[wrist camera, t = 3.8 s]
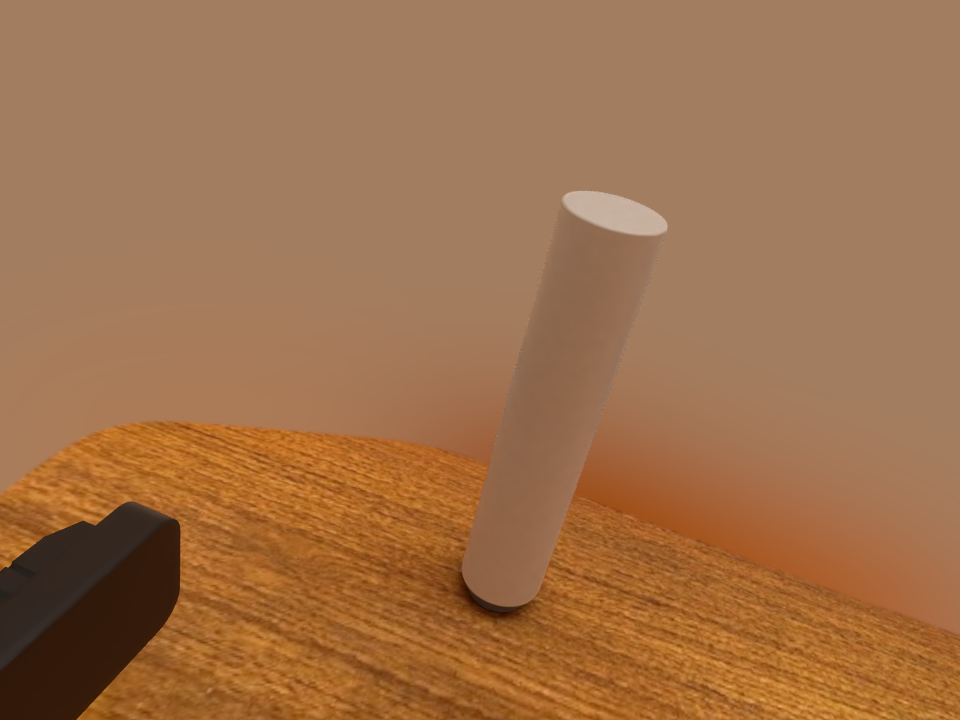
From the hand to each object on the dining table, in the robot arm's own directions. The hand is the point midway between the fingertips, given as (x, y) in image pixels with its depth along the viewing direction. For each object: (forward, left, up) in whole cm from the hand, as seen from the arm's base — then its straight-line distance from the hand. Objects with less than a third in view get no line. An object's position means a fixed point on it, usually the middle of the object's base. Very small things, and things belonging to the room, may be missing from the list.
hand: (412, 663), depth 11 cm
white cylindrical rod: (+8, +7, -9) cm, 14 cm away
